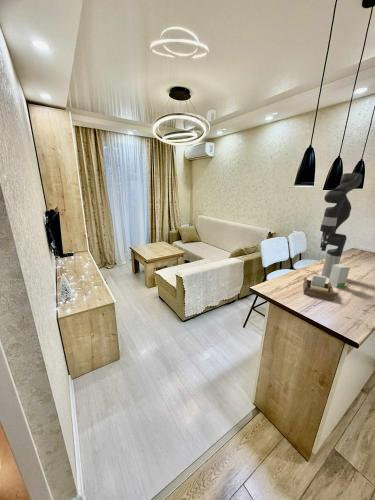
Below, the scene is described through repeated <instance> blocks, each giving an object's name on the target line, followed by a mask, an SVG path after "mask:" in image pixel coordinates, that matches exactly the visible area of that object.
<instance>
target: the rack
mask: <svg viewBox="0 0 375 500" xmlns="http://www.w3.org/2000/svg"><path fill="white" fill-rule="evenodd" d="M311 281H312V279H311V280H310V279H307V277H304V278H303V282H302V289H303V295H306V296H309V297H313V298H318V299H323V300H327V301H333V300H334V296H335V291H334V289H333V288H334V287H333V286H332V285H331V283H329V281H328V283H326V282H325V286H324V288H326V289H328V292H323V291H318V290H314V289H309V288H310V286H311Z"/></svg>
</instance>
